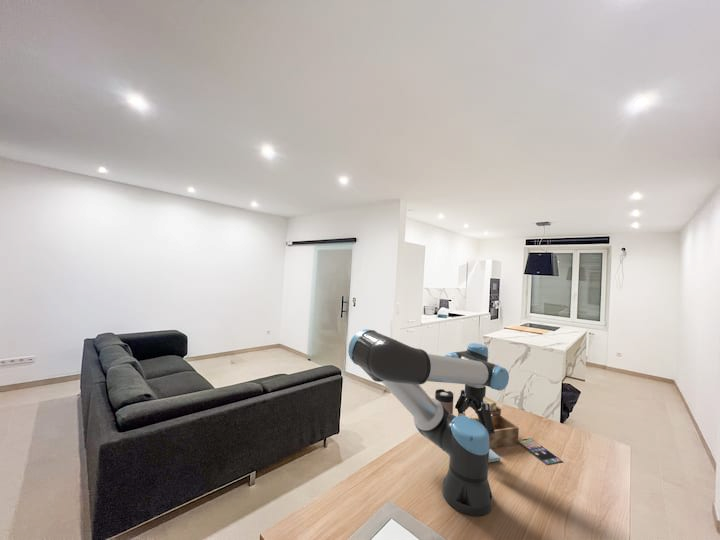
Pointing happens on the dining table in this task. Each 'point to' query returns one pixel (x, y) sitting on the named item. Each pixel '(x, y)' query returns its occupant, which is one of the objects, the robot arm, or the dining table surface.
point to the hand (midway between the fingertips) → (471, 438)
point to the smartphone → (539, 451)
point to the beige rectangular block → (490, 403)
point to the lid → (493, 456)
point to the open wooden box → (502, 431)
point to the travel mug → (445, 399)
